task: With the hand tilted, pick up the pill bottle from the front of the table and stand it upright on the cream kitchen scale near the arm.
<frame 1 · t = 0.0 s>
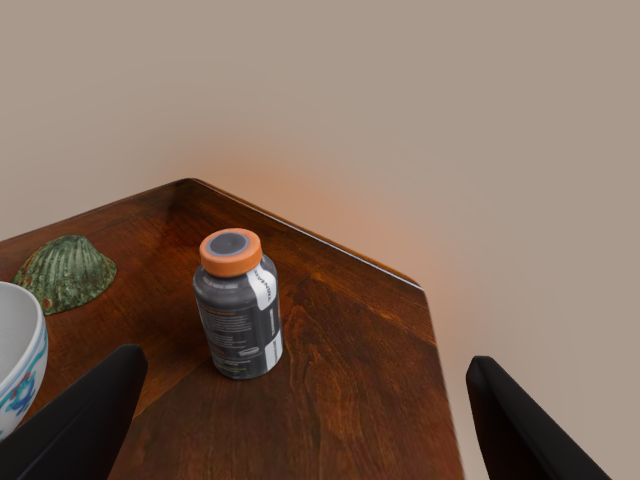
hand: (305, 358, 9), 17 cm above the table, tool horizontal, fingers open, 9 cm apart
seashell: (67, 282, 36), on the table
pill bottle: (248, 352, 29), on the table
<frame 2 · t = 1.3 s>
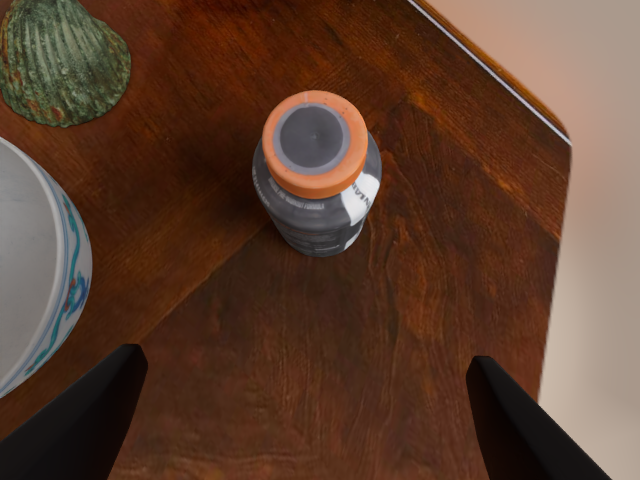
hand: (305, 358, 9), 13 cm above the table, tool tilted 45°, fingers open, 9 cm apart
seashell: (71, 68, 26), on the table
pill bottle: (320, 216, 24), on the table
chinaware: (39, 281, 23), on the table
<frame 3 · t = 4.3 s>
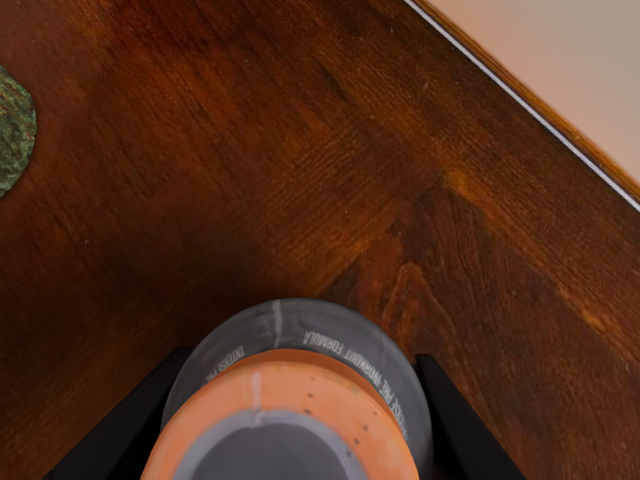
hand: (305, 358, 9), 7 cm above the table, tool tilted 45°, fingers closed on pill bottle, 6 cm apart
pill bottle: (312, 366, 16), on the table, touching gripper
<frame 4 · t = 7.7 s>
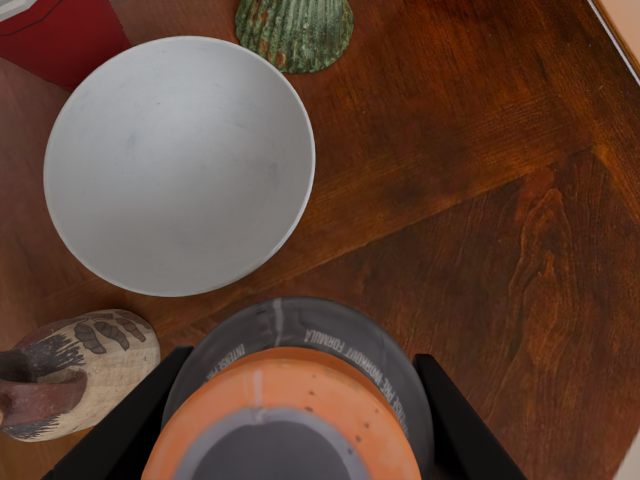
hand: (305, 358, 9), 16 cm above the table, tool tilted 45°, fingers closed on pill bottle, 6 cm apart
seashell: (296, 21, 29), on the table
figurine: (116, 358, 25), on the table
plastic cup: (108, 74, 28), on the table
pill bottle: (312, 365, 16), point 9 cm above the table, touching gripper
chinaware: (221, 197, 27), on the table
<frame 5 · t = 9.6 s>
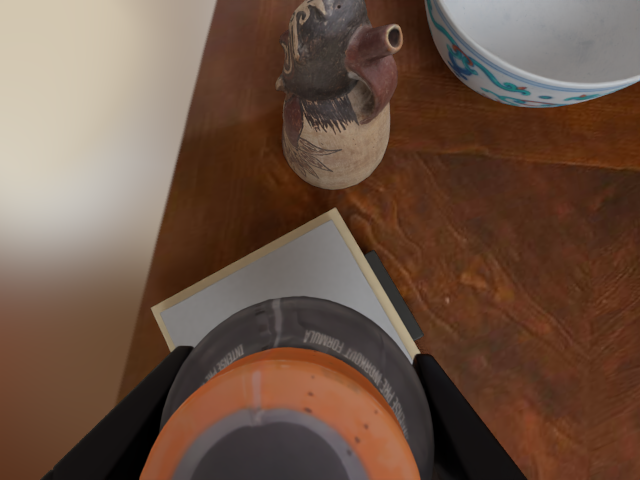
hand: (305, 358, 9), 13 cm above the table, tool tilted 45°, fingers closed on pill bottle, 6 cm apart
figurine: (334, 145, 25), on the table
pill bottle: (312, 365, 16), point 7 cm above the table, touching gripper
scale: (297, 346, 22), on the table
chinaware: (497, 59, 26), on the table
when the fingers open (9 cm above the table, at t = 11.3 s): pill bottle stays where it is, resting on scale.
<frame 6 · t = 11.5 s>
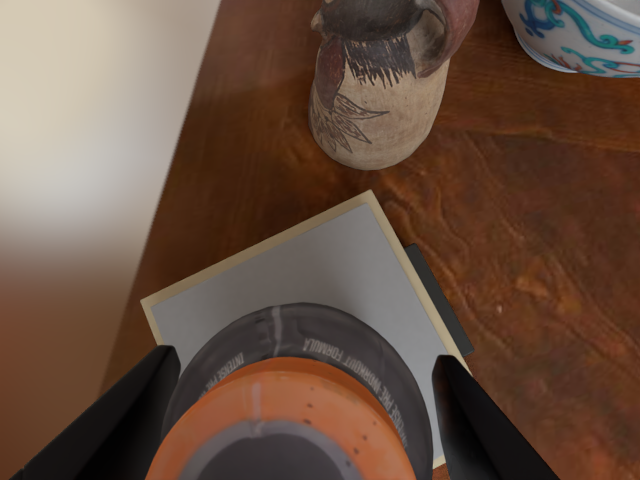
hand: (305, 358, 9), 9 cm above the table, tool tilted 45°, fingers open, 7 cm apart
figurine: (368, 119, 21), on the table
pill bottle: (312, 368, 16), point 3 cm above the table, touching scale
scale: (315, 356, 18), on the table
chinaware: (563, 28, 22), on the table
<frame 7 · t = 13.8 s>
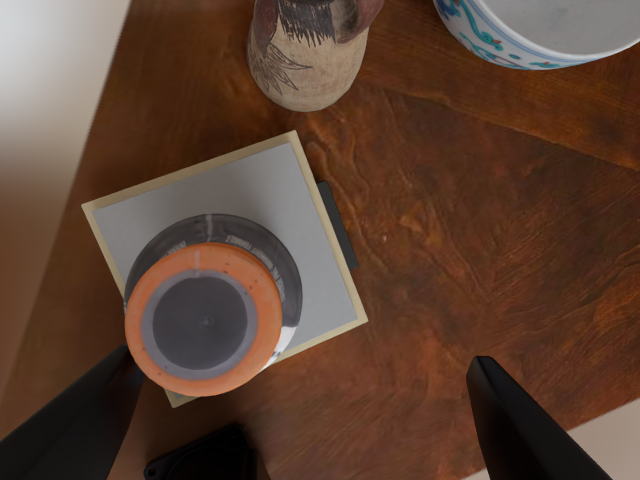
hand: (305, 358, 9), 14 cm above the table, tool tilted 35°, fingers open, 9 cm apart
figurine: (302, 62, 23), on the table
pill bottle: (233, 270, 20), point 3 cm above the table, touching gripper, scale
scale: (237, 263, 23), on the table
chinaware: (479, 5, 25), on the table
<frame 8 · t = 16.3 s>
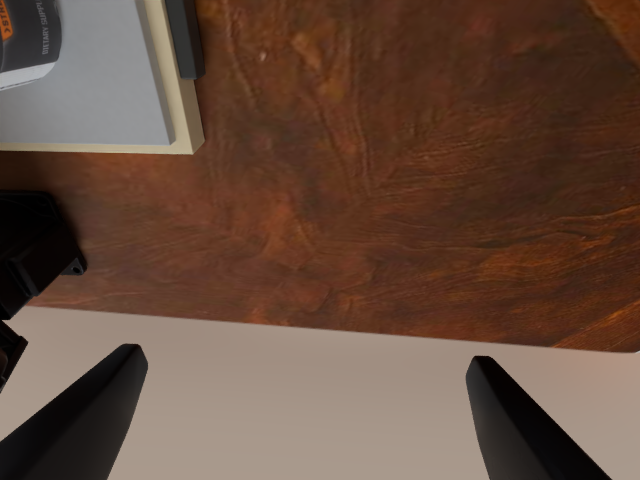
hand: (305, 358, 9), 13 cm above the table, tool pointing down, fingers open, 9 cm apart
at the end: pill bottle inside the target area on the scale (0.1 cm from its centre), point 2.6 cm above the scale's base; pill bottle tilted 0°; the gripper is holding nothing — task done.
